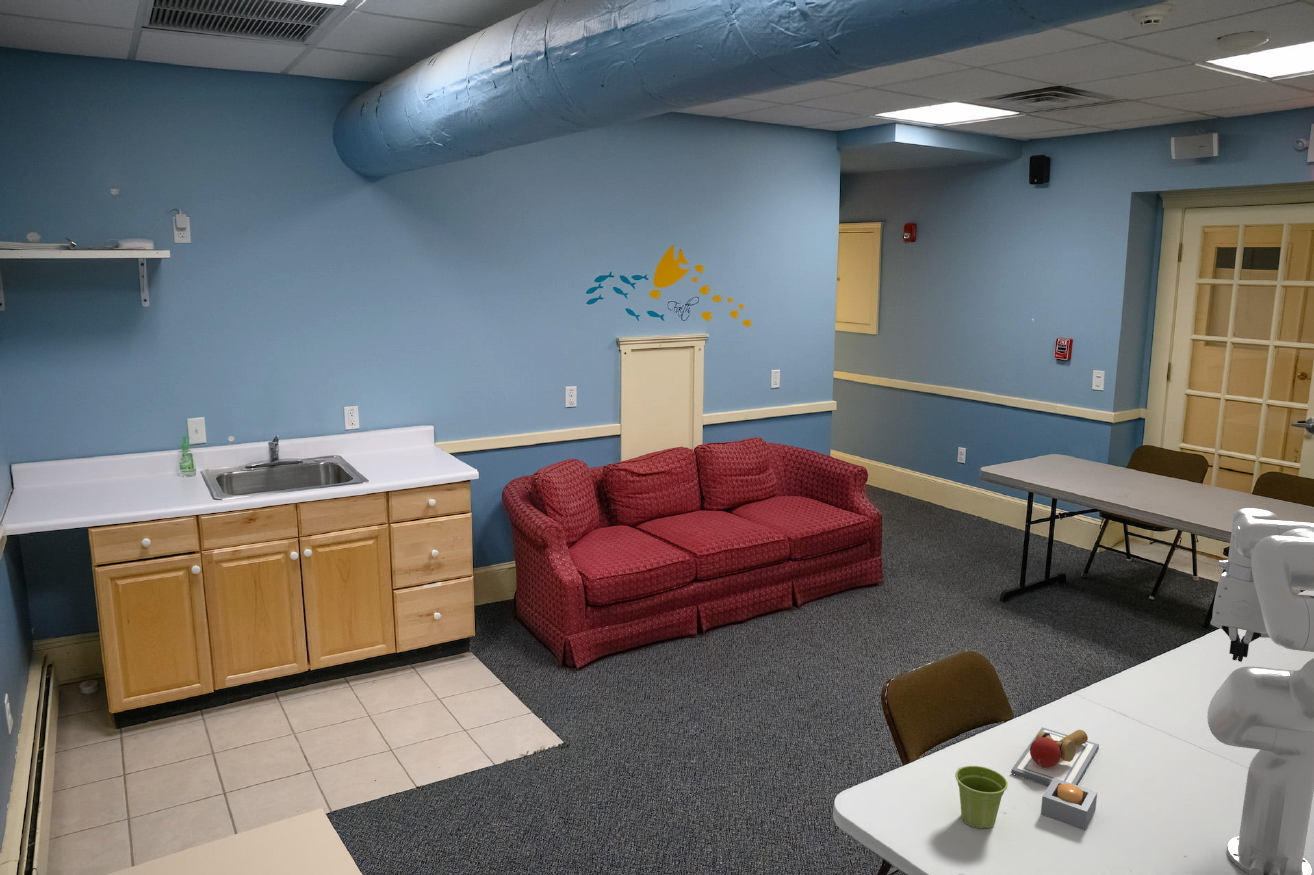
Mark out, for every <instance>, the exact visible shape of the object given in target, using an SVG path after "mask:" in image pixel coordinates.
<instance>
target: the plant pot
mask: <svg viewBox="0 0 1314 875" xmlns="http://www.w3.org/2000/svg"><path fill="white" fill-rule="evenodd" d="M955 780H956V781H957V782H956V783H957V786H958V789H959V790H958V791H959V801H960V813H961V814H960V816H961V818H962V819H963V821H964V823H965V824H967V825H968V824H969V826H970V825H971V826H970V827H973V828H976V829H983V828H985V829H991V828H992V827H994V826H995V824H996V821H997V817H998V812H999V809H1000V805H1001V801H1002V797H1003V795H1004V794H1005V791H1007V789H1008V786H1009V785H1008V784H1009V783H1008V780H1007V778H1006V777H1004V775H1002V774H1001V773H999V772H997V771H996V770H995V769H992V768H989V767H985V766H981V765H980V766H979V765H965V766H962V767H960V768H958V769H957V770H956V771H955Z"/></svg>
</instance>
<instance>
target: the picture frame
mask: <svg viewBox="0 0 1314 875" xmlns="http://www.w3.org/2000/svg"><path fill="white" fill-rule="evenodd" d="M1041 731H1044V732H1047V733H1049V734H1050V736H1051V737H1052V738H1053V739H1054V740H1055V741H1060V740H1061V739H1063V738H1064V737H1066V736H1068V735H1069V734H1065V733H1062V732H1059V731H1056V730H1052V729H1049V728H1046V727H1041V728H1040V729H1039V731H1038V732H1037V734H1036V735H1035V736H1034V738H1033V739H1032V741H1031V742H1030V743H1029V745H1028V746H1027V747H1026V749H1025V750H1024V752H1023V753H1022V754H1021V756H1020V757H1019V758H1018V760H1016V762H1015V764H1014V765H1013V767H1012V768H1011V771H1010V773H1012V774H1011V775H1013V774H1015V776H1016V775H1017V777H1019V776H1020V778H1022V777H1024V778H1023V779H1025V778H1026V779H1025V780H1028V779H1029V781H1031V780H1032V782H1034V783H1038V784H1041V785H1043V786H1046V787H1048V786H1049V785H1050V783H1051V782H1052V780H1053V779H1054V778H1056V779H1059V780H1062V781H1065V782H1068V783H1071V784H1074V785H1077V786H1079V783H1080V782H1081V780H1082V779H1083V777H1084V775H1085V773H1086V771H1087V770H1088V768H1089V766H1090V764H1091V763H1092V761H1093V760H1094V757H1095V756H1096V754H1097V752H1098V750H1099V748H1100V744H1099V743H1096V742H1092V741H1089V740H1087V742H1086V743H1084V744H1080V745H1076V752H1075V756H1074V758H1073V760H1072V761H1070V762H1067V761H1064V760H1063V759H1062V758H1060V761H1059V762H1058V763H1057V764H1056V765H1055V766H1053V767H1049V768H1043V767H1041V766H1039V765H1038V764H1036V763H1035V762H1034V761H1033V759H1032V757H1031V755H1030V746H1031V744H1032V742H1033V741H1034V740H1036V737H1037V735H1038V733H1039V732H1041Z"/></svg>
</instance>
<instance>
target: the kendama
mask: <svg viewBox="0 0 1314 875" xmlns="http://www.w3.org/2000/svg"><path fill="white" fill-rule="evenodd" d="M1038 732H1039V731H1038ZM1038 732H1037V733H1038ZM1036 735H1037V734H1036ZM1067 735H1068V736H1066V737H1064V738H1063V739H1061V740H1060V741H1055V740H1054V739H1053V738H1052V737H1051V736H1050V734H1049V733H1047V732H1044V731H1041V732H1039V733H1038V735H1037V737H1036V740H1034V741H1033V742H1032V741H1031V742H1032V744H1031V746H1030V755H1031V757H1032V759H1033V761H1034V762H1035V763H1036V764H1038V765H1039V766H1041V767H1043V768H1049V767H1053V766H1055V765H1056V764H1057V763H1058V762H1059V761H1060V758H1062V759H1063V760H1064V761H1067V762H1070V761H1072V760H1073V758H1074V756H1075V752H1076V745H1080V744H1084V743H1086V742H1087V741H1089V740H1088V737H1089V736H1088V735H1087V732H1086V731H1084V730H1083V729H1077V730H1076V731H1073V732H1072V733H1070V734H1067Z"/></svg>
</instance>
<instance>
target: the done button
mask: <svg viewBox="0 0 1314 875" xmlns="http://www.w3.org/2000/svg"><path fill="white" fill-rule="evenodd" d="M1077 786H1078V785H1077ZM1077 786H1075V785H1072V784H1060V785H1059V786H1058V792H1057V798H1060V799H1063V800H1066V801H1069V802H1072V803H1075V804H1078V805H1082V797H1083V791H1082V790H1081V789H1080V788H1079V787H1077Z"/></svg>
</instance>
